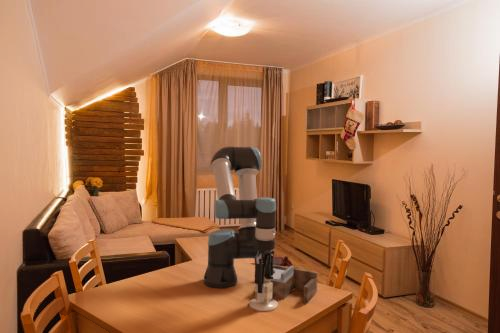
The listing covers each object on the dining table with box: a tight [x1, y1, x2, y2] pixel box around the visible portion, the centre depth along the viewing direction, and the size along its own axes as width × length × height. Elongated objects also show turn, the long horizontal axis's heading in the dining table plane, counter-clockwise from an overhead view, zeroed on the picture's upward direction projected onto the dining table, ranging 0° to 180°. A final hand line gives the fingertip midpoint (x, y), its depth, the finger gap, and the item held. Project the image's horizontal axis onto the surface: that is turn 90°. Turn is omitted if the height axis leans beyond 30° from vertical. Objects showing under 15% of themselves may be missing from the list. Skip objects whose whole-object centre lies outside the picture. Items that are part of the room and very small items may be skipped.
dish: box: [249, 297, 279, 312], centre depth 142 cm, size 11×11×1 cm
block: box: [254, 281, 273, 302], centre depth 141 cm, size 5×5×6 cm
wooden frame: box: [271, 265, 319, 304], centre depth 154 cm, size 20×14×8 cm
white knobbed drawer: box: [264, 264, 295, 283], centre depth 155 cm, size 10×12×4 cm
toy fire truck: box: [273, 256, 294, 267], centre depth 171 cm, size 7×12×10 cm, turn 98°
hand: (263, 297), depth 141 cm, fingers closed on block, 5 cm apart
